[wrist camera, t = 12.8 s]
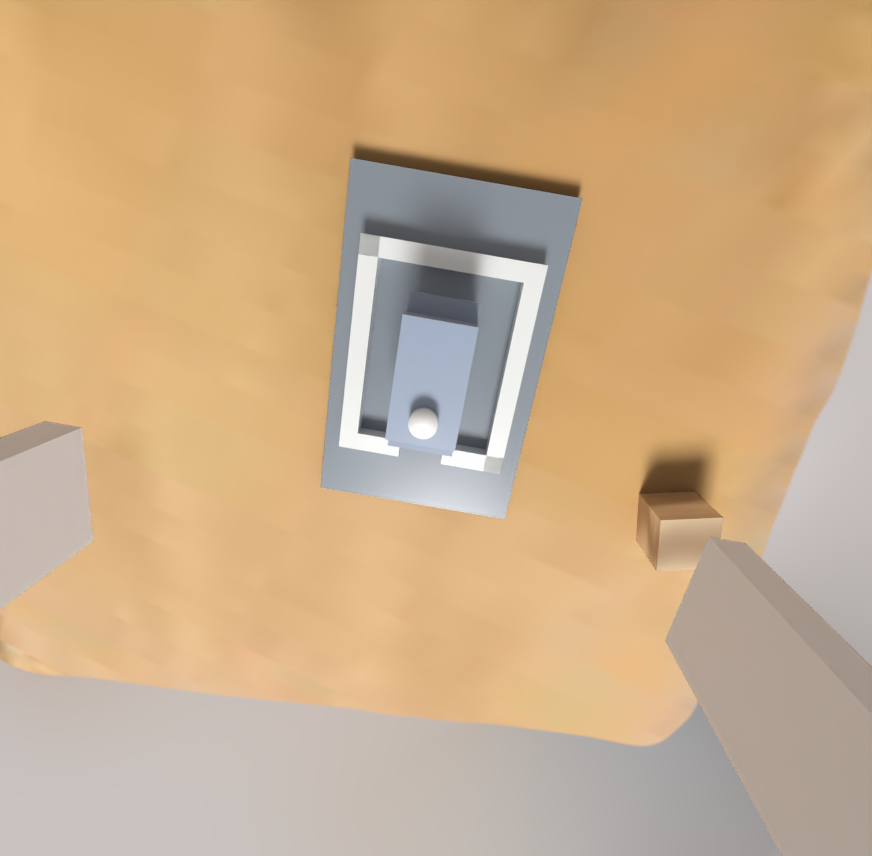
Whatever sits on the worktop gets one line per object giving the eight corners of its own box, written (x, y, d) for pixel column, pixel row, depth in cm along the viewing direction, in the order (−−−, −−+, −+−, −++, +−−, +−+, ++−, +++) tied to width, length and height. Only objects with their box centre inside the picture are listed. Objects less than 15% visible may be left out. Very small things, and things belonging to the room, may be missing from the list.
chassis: (354, 161, 28) (345, 152, 26) (578, 200, 28) (587, 195, 26) (324, 481, 35) (315, 494, 33) (503, 512, 35) (505, 527, 33)
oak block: (638, 493, 34) (660, 520, 31) (693, 490, 34) (723, 517, 30) (635, 539, 36) (656, 571, 32) (689, 537, 35) (716, 568, 32)
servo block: (417, 288, 30) (403, 292, 23) (478, 298, 30) (483, 307, 23) (397, 422, 32) (380, 462, 26) (453, 432, 32) (450, 475, 26)
